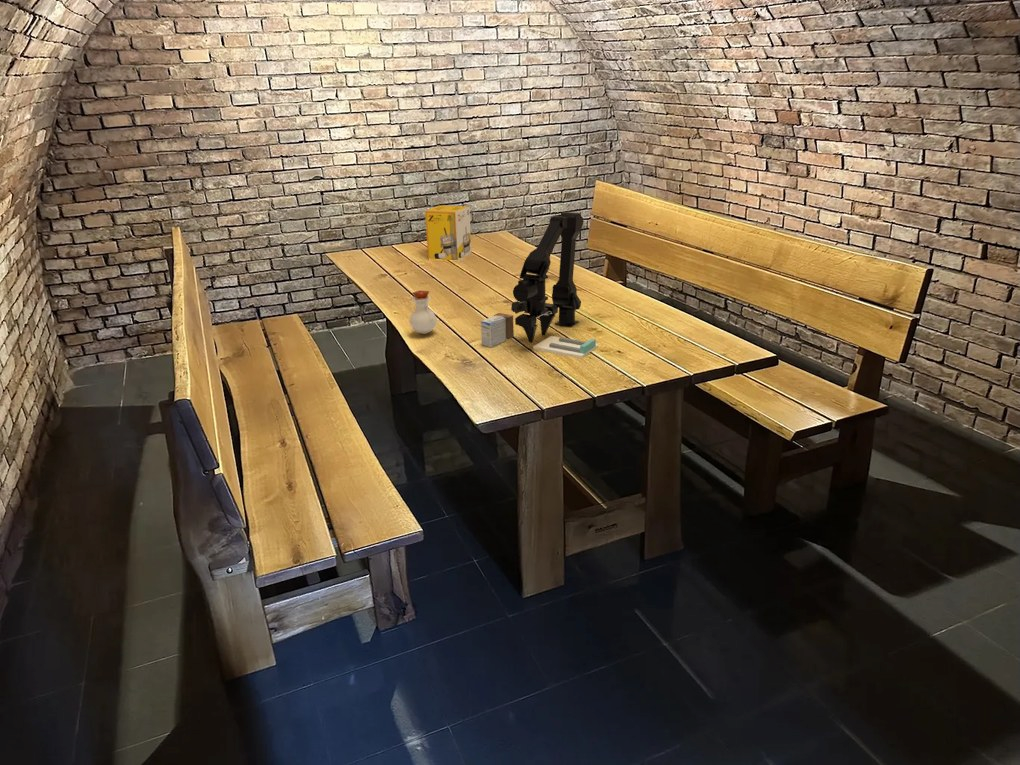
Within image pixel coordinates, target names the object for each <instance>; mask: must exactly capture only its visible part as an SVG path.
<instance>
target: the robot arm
mask: <svg viewBox="0 0 1020 765" xmlns="http://www.w3.org/2000/svg"><path fill="white" fill-rule="evenodd" d="M583 225H584V217H583V216H582V214H581V213H580V212H574V211H573V212H571V211H561V213H560V214H555V215H552V216H550V218H549V224H548V226H547V227H546V230H545V232H544V233H543V235H542V237H541V239H540V242H539V243H538V245H537V247H536V248H534V249H533V250H532V251H530V252H529V254H528V255H527V257H526V258H525V260H524V262H523V266H522V268H521V271H520V274H519V280H518V282H517V283H518V284H516V285H515V286H514V287H513V290H512V294H513V298H514V299H515V300H516V301H513V302H511V308H510V310H511V311H512V313H514V314H516V315H517V314H519V313H521V314H519V315H518V316H516V317H515V319H514V324H515V325H516V326H519V327H521V328H523V330H524V332H525V335H526V336H527V340H528V342H529V343H530V344H532V343H533V342H534V339H535V334H536V332H537V328H538V324H537V322H538V320H537V319H539V321H540V322H539V323H540V331H541V335H542V336H546V335H547V333H548V329H549V328H550V326H551V324H552V322H553V320H554V319H555V317H556V314H558V321H557V322H555V324H554V325H555V326H561V327H566V328H567V327H568V328H572V327H574V326H575V325H577V324H578V323H579V322H580V321H579V320H576V311H577V310H580V309H581V305H582V300H581V298H580V297H579V295H578V294H577V292H578V291H577V290H578V289H577V287H576V285H575V282H574V271H575V269H574V268H575V267H574V266H575V257H576V255H575V254H576V246H577V245H576V244H577V238H578V237H579V236H580V234H581V233H582V229H583ZM560 237H561V248H560V261H559V272H558V280H557V282H556V283H555V284H553V285H552V293H551V300H552V303H549V302H546V301H548V300H549V296H547V295H546V280H547V279H548V278H549V275H547V273H548V272H549V270H550V265H551V263H552V262H551V261H552V260H551V255H552V252H553V251H554V248H555V247H556V245H557V243H558V241H559V238H560ZM522 312H524V313H522Z"/></svg>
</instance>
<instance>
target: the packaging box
mask: <svg viewBox="0 0 1020 765" xmlns="http://www.w3.org/2000/svg"><path fill="white" fill-rule="evenodd" d="M470 208H471V207H470V206H463V205H462V206H461V205H437V206H435V207H431V208H429V209H426V210H424V215H425V228H426V229H425V230H426V245H427V247H426V248H427V258H430V259H442V260H460V259H462V258H463V257H465V256H467V255H468V254H470V253H471V252H472V234H471V231H472V230H471V214H470V213H471V209H470ZM467 257H468V256H467Z"/></svg>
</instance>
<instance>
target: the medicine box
mask: <svg viewBox="0 0 1020 765" xmlns="http://www.w3.org/2000/svg"><path fill="white" fill-rule="evenodd" d="M480 330H481V331H480V335H481V336H480V337H481V345H482V346H485V347H488V348H493V347H495V346H497V345H499V344H502V343H504V342H506V340H507V339H506V322H505V318H504V317H501V316H494V315H493V316H490V317H488V318H485V319H483V320H481V321H480Z"/></svg>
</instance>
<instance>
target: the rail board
mask: <svg viewBox="0 0 1020 765" xmlns="http://www.w3.org/2000/svg"><path fill="white" fill-rule="evenodd" d="M598 347H599V344H597V340H596V339H595V338H590V339H588V340H587V341H584V340H578V339H575V338H574V339H572V338H567V337H562V336H560V337H558V336H554V335H550V336H548V337H547V338H544V339H543V340H542V341H540V342H538V343H537V344H535V345H533V346H532V350H535V351H540V352H544V353H545V352H546V353H550V354H556V355H561V356H565V357H566V356H567V357H571V358H577V359H583V358H584V357H585V356H587V355H589V354H590V353H591V352H592V351H593V350H595V349H596V348H598Z"/></svg>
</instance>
